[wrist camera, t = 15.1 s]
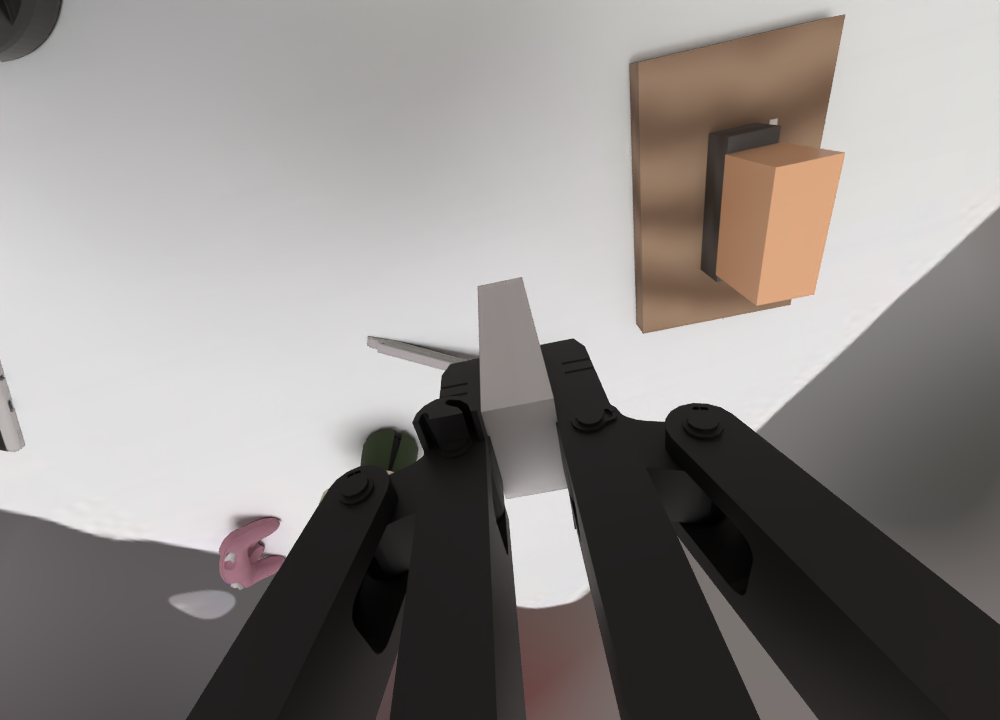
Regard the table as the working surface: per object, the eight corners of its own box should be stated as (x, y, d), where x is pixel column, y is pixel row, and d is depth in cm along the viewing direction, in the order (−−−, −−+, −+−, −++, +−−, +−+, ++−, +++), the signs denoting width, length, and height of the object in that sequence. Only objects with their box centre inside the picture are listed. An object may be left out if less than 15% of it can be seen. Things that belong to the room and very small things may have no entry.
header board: (629, 64, 31) (676, 56, 24) (824, 18, 31) (932, -4, 23) (636, 324, 43) (669, 370, 36) (777, 296, 42) (839, 338, 35)
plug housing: (725, 154, 30) (775, 167, 25) (782, 141, 30) (845, 152, 25) (715, 274, 35) (756, 305, 30) (765, 264, 35) (814, 294, 30)
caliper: (563, 367, 46) (575, 403, 41) (560, 375, 46) (571, 412, 41) (368, 334, 42) (353, 369, 37) (367, 343, 43) (353, 379, 38)
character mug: (446, 438, 50) (438, 536, 39) (426, 478, 53) (413, 578, 42) (353, 410, 47) (316, 508, 36) (337, 454, 50) (300, 556, 39)
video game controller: (256, 503, 56) (205, 544, 51) (283, 518, 55) (234, 562, 50) (264, 549, 62) (219, 591, 56) (289, 564, 60) (245, 608, 55)
